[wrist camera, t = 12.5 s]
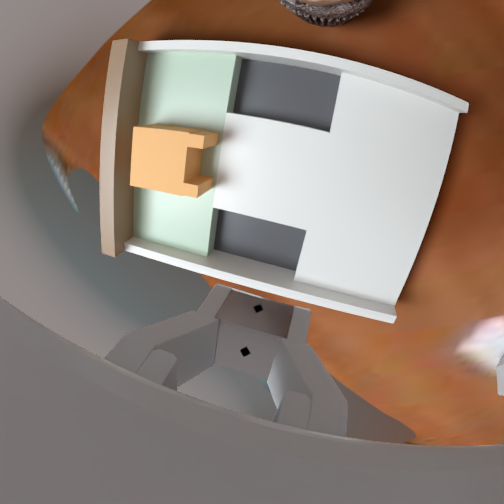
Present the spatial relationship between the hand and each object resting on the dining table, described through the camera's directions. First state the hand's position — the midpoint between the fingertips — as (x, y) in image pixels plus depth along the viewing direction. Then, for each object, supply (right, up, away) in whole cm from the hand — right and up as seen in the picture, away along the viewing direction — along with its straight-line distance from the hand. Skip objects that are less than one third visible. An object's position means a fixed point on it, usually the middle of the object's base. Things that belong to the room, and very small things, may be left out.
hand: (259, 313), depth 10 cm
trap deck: (+2, +11, +22) cm, 24 cm away
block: (-8, +12, +21) cm, 26 cm away
